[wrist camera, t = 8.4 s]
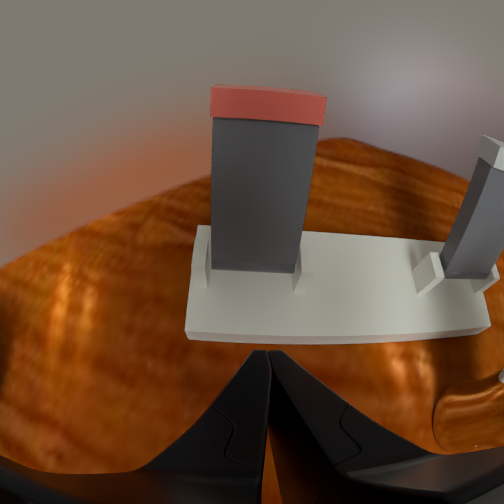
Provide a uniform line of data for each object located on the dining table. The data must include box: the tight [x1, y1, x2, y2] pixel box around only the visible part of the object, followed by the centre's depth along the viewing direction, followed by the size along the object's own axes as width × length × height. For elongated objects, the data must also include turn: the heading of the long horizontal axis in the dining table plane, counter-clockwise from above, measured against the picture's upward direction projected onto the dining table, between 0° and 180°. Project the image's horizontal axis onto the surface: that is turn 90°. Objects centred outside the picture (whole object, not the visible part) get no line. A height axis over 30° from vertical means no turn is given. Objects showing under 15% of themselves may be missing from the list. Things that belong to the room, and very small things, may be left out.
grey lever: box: [439, 134, 504, 279], centre depth 17 cm, size 2×5×11 cm, turn 89°
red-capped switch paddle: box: [210, 84, 327, 274], centre depth 17 cm, size 2×5×11 cm, turn 89°
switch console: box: [185, 225, 500, 344], centre depth 21 cm, size 8×24×5 cm, turn 89°
